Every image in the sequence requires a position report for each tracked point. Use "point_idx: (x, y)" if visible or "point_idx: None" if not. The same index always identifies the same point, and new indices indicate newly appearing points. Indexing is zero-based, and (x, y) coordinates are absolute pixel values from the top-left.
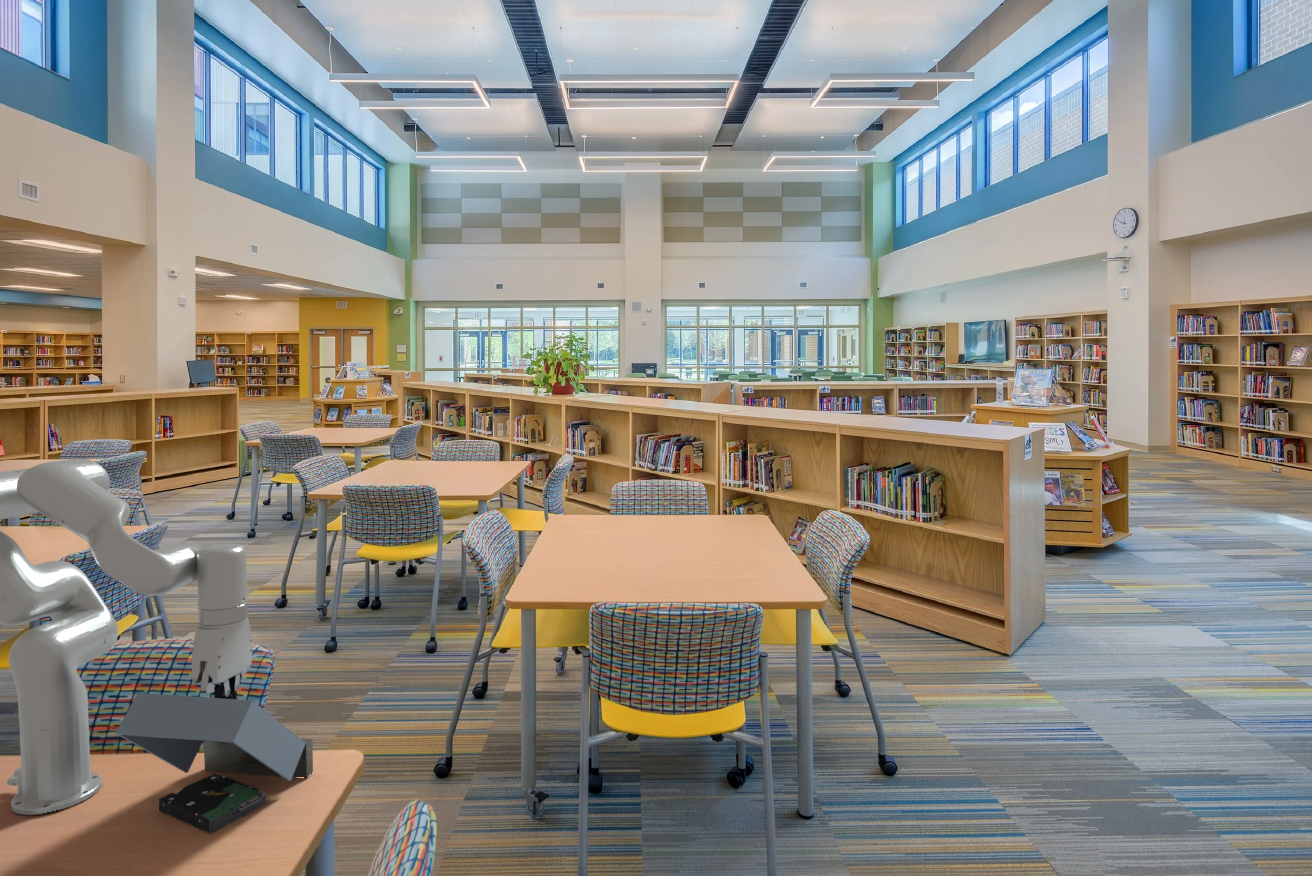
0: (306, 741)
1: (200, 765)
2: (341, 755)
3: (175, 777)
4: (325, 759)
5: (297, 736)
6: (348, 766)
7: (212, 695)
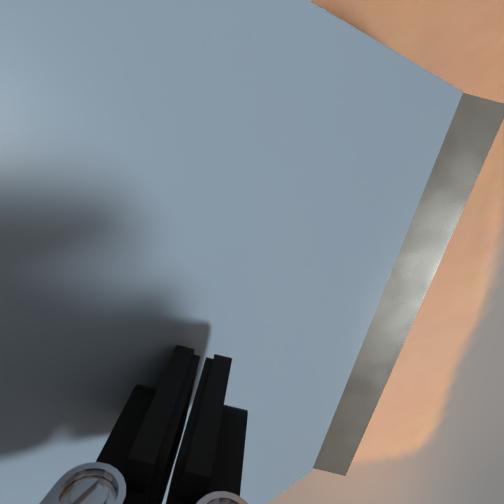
0: (331, 464)
1: (457, 61)
2: (417, 434)
3: (384, 11)
4: (403, 405)
5: (268, 501)
6: (353, 458)
7: (81, 465)
